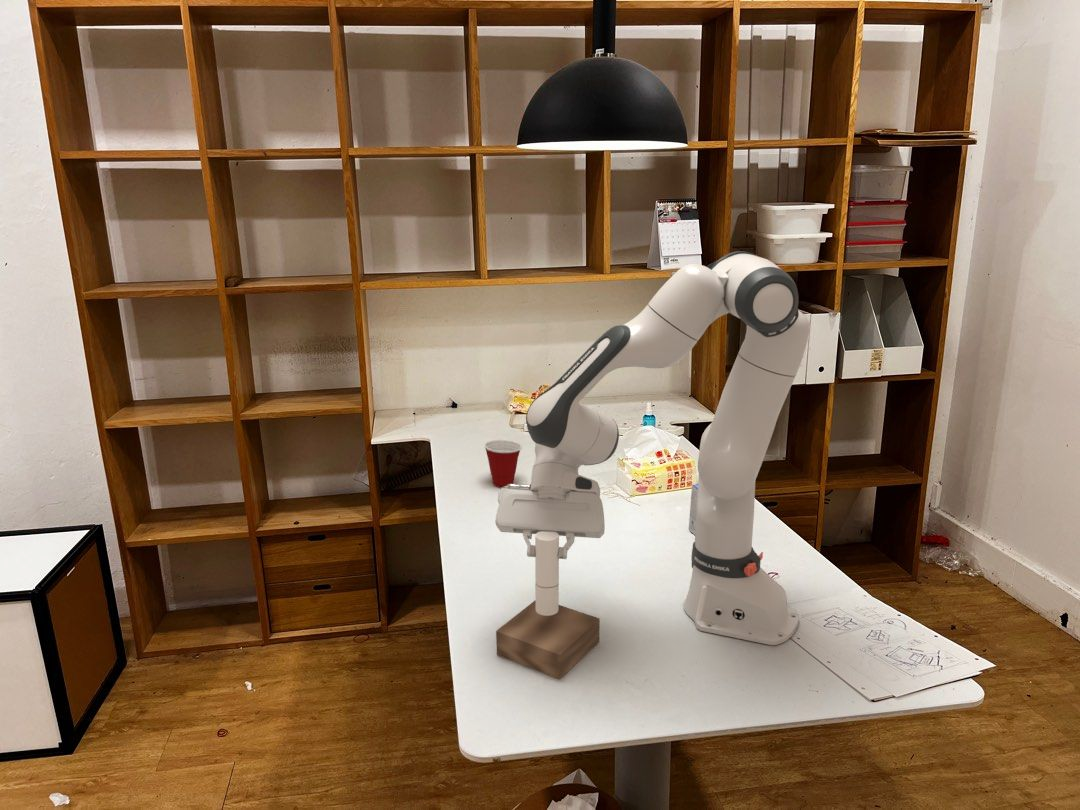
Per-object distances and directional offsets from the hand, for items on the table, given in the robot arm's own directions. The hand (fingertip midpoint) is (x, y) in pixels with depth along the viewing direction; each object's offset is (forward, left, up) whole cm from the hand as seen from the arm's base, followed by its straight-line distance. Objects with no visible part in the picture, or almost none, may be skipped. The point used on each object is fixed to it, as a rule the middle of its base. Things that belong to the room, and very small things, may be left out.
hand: (546, 557), depth 146 cm
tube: (0, 0, -11) cm, 11 cm away
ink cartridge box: (-7, -61, -20) cm, 64 cm away
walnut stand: (0, -1, -19) cm, 19 cm away
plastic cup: (+55, -62, -20) cm, 85 cm away
